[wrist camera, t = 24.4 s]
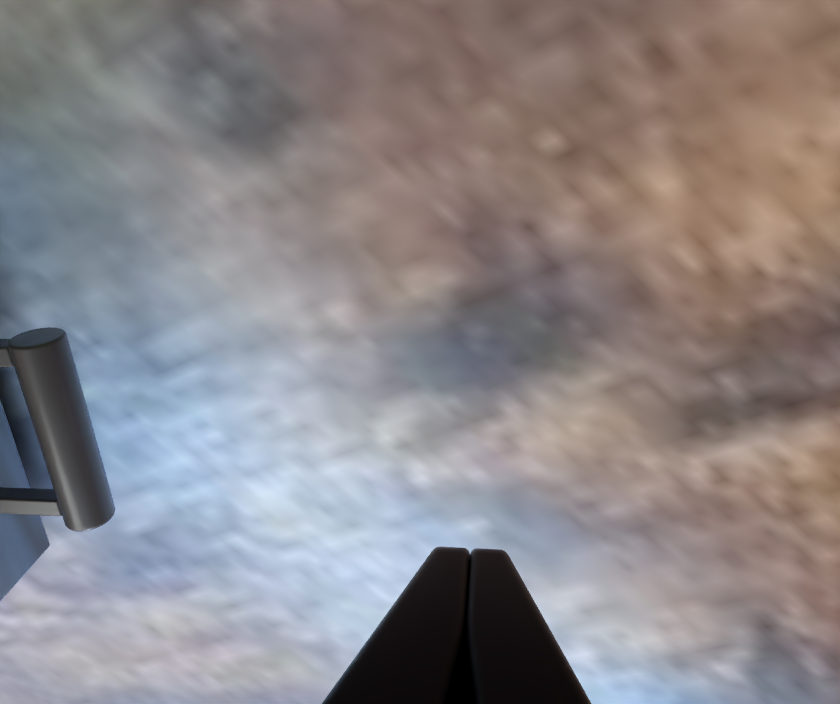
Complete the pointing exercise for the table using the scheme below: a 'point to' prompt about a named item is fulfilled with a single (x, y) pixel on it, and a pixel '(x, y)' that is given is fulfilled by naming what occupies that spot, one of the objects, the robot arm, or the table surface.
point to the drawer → (47, 453)
